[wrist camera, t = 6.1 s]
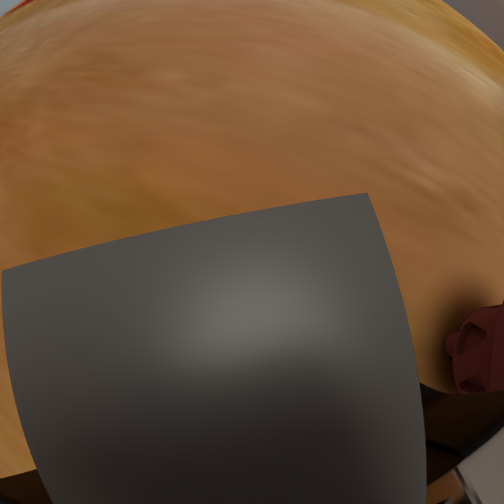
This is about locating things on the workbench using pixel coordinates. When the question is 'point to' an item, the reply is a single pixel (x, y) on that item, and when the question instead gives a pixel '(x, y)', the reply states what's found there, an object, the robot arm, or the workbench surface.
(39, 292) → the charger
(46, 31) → the workbench surface
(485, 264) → the workbench surface
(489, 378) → the mechanical component
